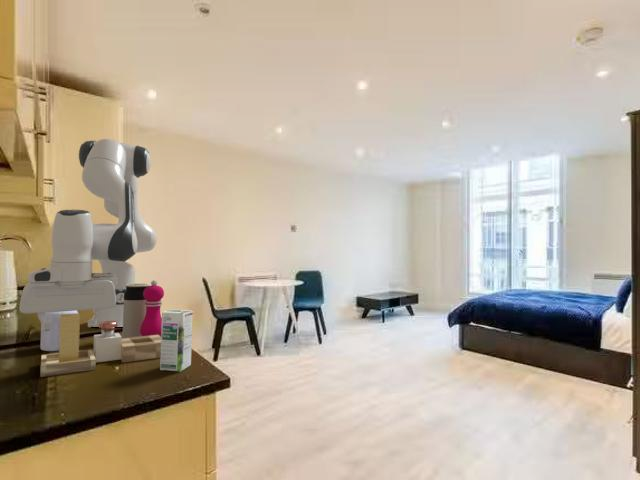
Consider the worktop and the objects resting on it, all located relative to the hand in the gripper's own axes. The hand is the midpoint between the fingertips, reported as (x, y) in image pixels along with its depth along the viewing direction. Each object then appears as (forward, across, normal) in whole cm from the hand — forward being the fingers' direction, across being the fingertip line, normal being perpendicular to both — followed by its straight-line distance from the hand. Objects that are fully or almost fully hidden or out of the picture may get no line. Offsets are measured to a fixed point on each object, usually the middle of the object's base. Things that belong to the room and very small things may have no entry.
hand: (69, 328), depth 96 cm
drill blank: (+9, 0, 0) cm, 9 cm away
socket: (+10, -18, -3) cm, 20 cm away
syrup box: (+10, -22, +14) cm, 28 cm away
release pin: (+9, -9, -4) cm, 13 cm away
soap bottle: (+10, +2, -23) cm, 25 cm away
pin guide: (+10, -9, -4) cm, 14 cm away
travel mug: (+10, -20, -24) cm, 32 cm away
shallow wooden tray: (+10, 0, 0) cm, 10 cm away
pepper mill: (+10, -22, -14) cm, 28 cm away
